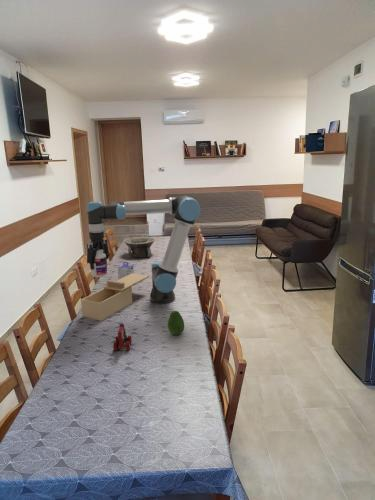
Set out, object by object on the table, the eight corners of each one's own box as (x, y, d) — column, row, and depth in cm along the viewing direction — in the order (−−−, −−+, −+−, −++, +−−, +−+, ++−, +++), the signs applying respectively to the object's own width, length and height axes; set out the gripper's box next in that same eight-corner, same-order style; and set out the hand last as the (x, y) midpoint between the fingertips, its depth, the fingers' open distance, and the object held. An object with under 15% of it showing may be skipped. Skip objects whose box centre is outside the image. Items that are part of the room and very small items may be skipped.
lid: (149, 277, 230) (148, 271, 229) (121, 291, 206) (121, 285, 205) (132, 274, 236) (131, 268, 235) (103, 288, 212) (103, 281, 211)
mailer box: (132, 302, 217) (131, 286, 214) (101, 321, 193) (99, 303, 190) (114, 299, 223) (113, 283, 220) (82, 316, 198) (80, 299, 196)
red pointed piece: (132, 340, 172) (131, 319, 170) (129, 353, 160) (127, 332, 157) (117, 340, 172) (116, 320, 169) (113, 354, 160) (111, 332, 157)
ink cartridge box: (134, 281, 254) (133, 261, 251) (132, 284, 249) (131, 263, 245) (120, 281, 255) (119, 261, 252) (118, 284, 250) (117, 263, 246)
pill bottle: (94, 278, 193) (91, 252, 189) (90, 274, 200) (88, 249, 196) (109, 276, 196) (107, 250, 193) (105, 272, 203) (103, 247, 200)
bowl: (130, 251, 336) (129, 235, 332) (158, 252, 332) (157, 236, 329) (121, 259, 310) (120, 242, 307) (151, 260, 307) (150, 243, 303)
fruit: (180, 339, 172) (180, 315, 169) (165, 336, 175) (164, 313, 172) (186, 332, 179) (186, 309, 176) (171, 329, 182) (171, 307, 179)
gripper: (103, 227, 203) (106, 266, 208) (76, 234, 185) (80, 277, 190) (114, 228, 199) (117, 268, 205) (88, 235, 181) (91, 279, 187)
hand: (99, 272), depth 198 cm, fingers closed on pill bottle, 8 cm apart
